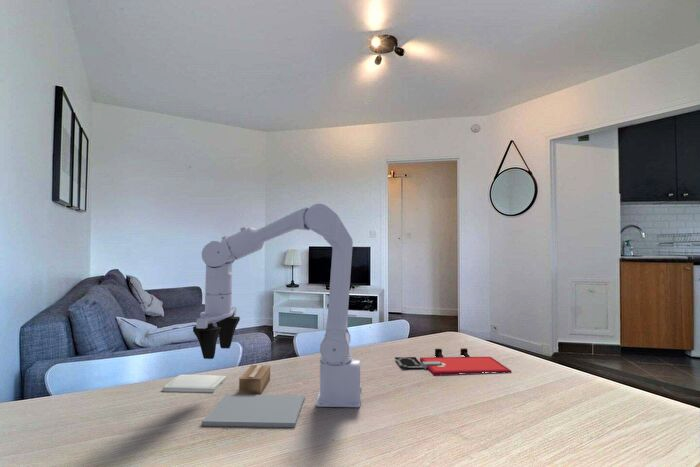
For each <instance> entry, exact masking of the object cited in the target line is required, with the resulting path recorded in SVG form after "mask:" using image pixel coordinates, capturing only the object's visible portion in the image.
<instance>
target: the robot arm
mask: <svg viewBox="0 0 700 467" xmlns="http://www.w3.org/2000/svg"><path fill="white" fill-rule="evenodd" d="M296 230H300V231H312V232H314V233H316V234H317V235H320V236H321V237H322V238H323V239H324V240H325V241H326V243H328V244H329V245H330V246H331V249H332V250H331V251H332V252H331V267H330V280H329V294H328V295H329V296H328V307H327V308H328V309H327V318H326V326H325V333H324V337H323V339H322V340H321V343H320V346H319V352H320V356H319V391H318V395H317V398H316V402H315V406H316V407H318V408H320V407H322V408H323V407H324V408H326V407H327V408H330V407H331V408H360V407H361V395H362V388H363V387H362V384H361V360H360V359H355V358H353V357H352V354H350V342H351V334H350V333H349V330H348V317H349V316H348V314H349V300H350V288H351V287H350V286H351V273H352V257H353V246H354V244H353V243H354V241H353V238H352V236H351V235H350V232H349V231H348V229H347V227H346V226H345V224H344V222H342V220H341V218H340V216H339V215H338V214H337V212H336V211H334V210H333V209H332V208H330V207H329V206H328V205H326V204H324V203H315V204H313V205H311V206H310V207H309V206H308V207H303V208H301V209H298V210H295V211H293V212H291V213H290V214H287V215H285V216H283V217H281V218H279V219H277V220H275V221H273V222H271V223H269V224H267V225H265V226H263V227H260V228H258V229H257V228H255V227H253V226H250V227H248V226H243V227H240V228H239V232H236V233H234V234H231V235H229V236H227V235H224V236H222V237H221V241H218V240H211V241H210V242H209V243H207V244H205V245H204V247H203V248H202V251H201V259H202V261H203V263H204V264H205V286H204V287H205V288H204V289H205V290H204V291H205V292H204V294H205V295H204V311H202V312H200V313H199V314H200V317H198V318H196V325H195V326H193V327H192V332H193V333H194V335H195V337H196V338H197V340H198V343H199V346H200V350H201V354H202V358H203V359H204V360H212V359H214V358H215V355H216V348H217V341H218V339H219V346H220V349H226V350H228V349H230V348H231V345H232V343H233V337H234V334H235V332H236V331H235V330H236V328H237V326H238V324H239V322H240V320H241V318H240V316H236V315H237V306H236V307H235V306H232V302H233V301H232V296H233V295H232V291H233V290H232V289H233V285H232V284H233V264H234V263H235V261H238V260H240V259H243V258H244V257H248V256H249V255H251V254H253V253H254V254H255V253H256V252H258V251H261V250H262V249H263V246H264V244H265V242H267V241H271V240H273V239H275V238H277V237H280V236H283V235H285V234H287V233H291V232H292V231H296ZM214 324H216V326H215V325H214Z"/></svg>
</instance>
